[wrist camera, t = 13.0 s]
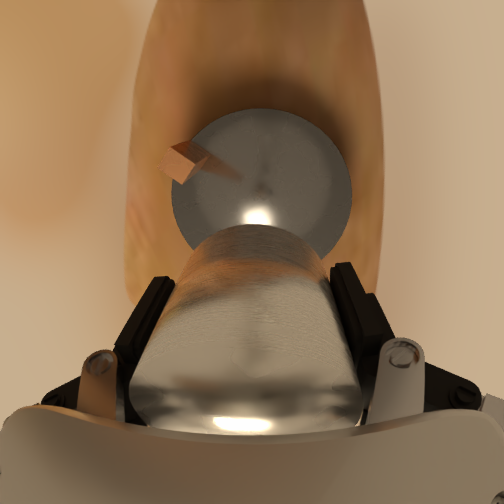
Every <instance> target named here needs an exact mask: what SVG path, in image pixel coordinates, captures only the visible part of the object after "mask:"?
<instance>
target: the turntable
mask: <svg viewBox="0 0 504 504" xmlns="http://www.w3.org/2000/svg"><path fill="white" fill-rule="evenodd" d="M157 168H158V169H160V170H161V171H163V172H164V173H165V174H167V175H168V176H170V177H171V178H173V181H172V192H171V193H172V206H173V212H174V216H175V219H176V222H177V225H178V227H179V229H180V231H181V233H182V235H183V237H184V238H185V240H186V241H187V243H188V244H189V245H190V247H191V248H192V249H193V250H195V249H196V248H197V247H198V246H199V245H200V244H201V243H202V242H203V241H204V240H205V239H207V238H208V237H209V236H211V235H213V234H215V233H216V232H218V231H221V230H223V229H226V228H228V227H232V226H237V225H243V224H264V225H271V226H275V227H278V228H282V229H284V230H287V231H289V232H291V233H293V234H295V235H296V236H298V237H300V238H301V239H303V240H304V241H305V242H306V243H308V244H309V245H310V246H311V247H312V248H313V249H314V251H315V252H316V253H317V255H318V256H319V258H320V259H321V260H322V259H323V258H324V257H325V256H326V255H327V254H328V253H329V252H330V251H331V250H332V248H333V247H334V246H335V245H336V243H337V242H338V240H339V239H340V237H341V236H342V234H343V231H344V229H345V227H346V225H347V222H348V219H349V216H350V210H351V205H352V188H351V180H350V176H349V172H348V169H347V166H346V164H345V161H344V159H343V157H342V155H341V153H340V152H339V150H338V148H337V147H336V146H335V144H334V143H333V142H332V141H331V139H330V138H329V137H328V136H327V135H326V134H325V133H324V132H323V131H322V130H320V129H319V128H318V127H316V126H315V125H313V124H312V123H311V122H309V121H307V120H305V119H303V118H301V117H299V116H297V115H294V114H291V113H288V112H285V111H280V110H275V109H264V108H258V109H246V110H242V111H237V112H233V113H231V114H228V115H225V116H223V117H221V118H219V119H217V120H215V121H213V122H212V123H210V124H209V125H207V126H206V127H205V128H203V129H202V130H201V131H200V132H199V133H198V134H197V135H196V136H195V137H194V138H193V139H192V140H189V141H186V142H183V143H180V144H177V145H174V146H171V147H169V149H168V150H167V152H166V154H165V155H164V157H163V159H162V160H161V162H160V164H159V165H158V167H157Z"/></svg>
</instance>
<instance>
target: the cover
mask: <svg viewBox="0 0 504 504" xmlns="http://www.w3.org/2000/svg"><path fill="white" fill-rule="evenodd" d="M129 397H130V401H131V403H132V406H133V408H134V409H135V411H136V412H137V414H138V415H139V416H140V418H141V419H142V420H143V421H144V422H145V423H146V424H147V425H148V426H149V427H152V428H159V429H166V430H174V431H182V432H192V433H204V434H220V435H282V434H298V433H310V432H320V431H328V430H336V429H343V428H349V427H354V426H355V425H356V424H357V423H358V421H359V419H360V418H361V415H362V412H363V406H364V401H363V397H362V393H361V389H360V385H359V381H358V377H357V373H356V369H355V366H354V362H353V358H352V355H351V351H350V348H349V344H348V341H347V337H346V334H345V331H344V327H343V324H342V321H341V317H340V314H339V311H338V308H337V304H336V301H335V298H334V295H333V292H332V289H331V286H330V283H329V280H328V277H327V274H326V271H325V268H324V265H323V263H322V261H321V259H320V258H319V256H318V255H317V253H316V252H315V251H314V249H313V248H312V247H311V246H310V245H309V244H308V243H306V242H305V241H304V240H303V239H301V238H300V237H298V236H296V235H295V234H293V233H291V232H289V231H287V230H284V229H282V228H278V227H275V226H271V225H264V224H243V225H237V226H232V227H228V228H226V229H223V230H221V231H218V232H216V233H215V234H213V235H211V236H209V237H208V238H207V239H205V240H204V241H203V242H202V243H201V244H200V245H199V246H198V247H197V248H196V249H195V250H194V252H193V253H192V254H191V256H190V258H189V260H188V262H187V263H186V265H185V267H184V269H183V271H182V273H181V275H180V277H179V279H178V281H177V283H176V285H175V287H174V289H173V291H172V293H171V295H170V297H169V299H168V301H167V303H166V305H165V307H164V309H163V311H162V313H161V315H160V317H159V320H158V322H157V324H156V326H155V328H154V330H153V332H152V334H151V337H150V339H149V341H148V343H147V345H146V347H145V350H144V352H143V354H142V356H141V358H140V361H139V363H138V365H137V367H136V370H135V372H134V374H133V376H132V379H131V381H130V384H129Z"/></svg>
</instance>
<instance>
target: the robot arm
mask: <svg viewBox="0 0 504 504" xmlns="http://www.w3.org/2000/svg"><path fill="white" fill-rule="evenodd" d="M330 286H331V289H332V292H333V295H334V298H335V301H336V304H337V308H338V311H339V314H340V317H341V321H342V324H343V327H344V331H345V334H346V337H347V341H348V344H349V348H350V351H351V355H352V358H353V362H354V366H355V369H356V373H357V377H358V381H359V385H360V389H361V393H362V397H363V401H364V406H363V412H362V415H361V418H360V420H359V424H358V426H356V427H349V428H343V429H336V430H328V431H320V432H310V433H298V434H282V435H220V434H204V433H192V432H182V431H174V430H166V429H159V428H152V427H149V426H148V425H147V424H146V423H145V422H144V421H143V420H142V419H141V418H140V416H139V415H138V414H137V412H136V411H135V409H134V408H133V406H132V403H131V401H130V397H129V384H130V381H131V379H132V376H133V374H134V372H135V370H136V367H137V365H138V363H139V361H140V358H141V356H142V354H143V352H144V350H145V347H146V345H147V343H148V341H149V339H150V337H151V334H152V332H153V330H154V328H155V326H156V324H157V322H158V320H159V317H160V315H161V313H162V311H163V309H164V307H165V305H166V303H167V301H168V299H169V297H170V295H171V293H172V291H173V289H174V287H175V282H174V280H173V279H170V278H169V277H168V276H161V277H154V278H153V280H152V281H151V283H150V284H149V286H148V288H147V289H146V291H145V293H144V294H143V296H142V297H141V299H140V301H139V302H138V304H137V306H136V307H135V309H134V311H133V312H132V314H131V316H130V318H129V319H128V321H127V323H126V324H125V326H124V328H123V330H122V332H121V333H120V335H119V337H118V339H117V340H116V342H115V344H114V345H115V347H114V349H113V351H111V350H99V351H96V352H94V353H92V354H91V355H90V356H89V357H87V359H86V360H85V362H84V364H83V367H82V372H81V376H79V377H77V378H75V379H74V380H71V381H70V382H68V383H65V384H64V385H61V386H60V387H58V388H56V389H54V390H52V391H50V392H48V393H47V394H46V395H45V396H44V398H43V399H42V401H41V405H40V404H39V403H37V404H34V405H32V406H26V407H22V408H20V409H18V410H16V411H15V412H14V413H13V414H12V415H11V416H9V417H8V418H7V419H6V420H5V421H4V424H3V428H2V430H1V431H0V504H504V400H503V399H500V398H497V397H495V396H492V395H490V394H486V395H485V396H482V395H481V392H480V390H479V388H478V387H477V386H476V385H475V384H474V383H473V382H471V381H469V380H467V379H464V378H462V377H459V376H457V375H455V374H452V373H450V372H448V371H445V370H443V369H441V368H438V367H436V366H434V365H431V364H429V363H427V362H425V358H424V357H425V356H424V352H423V349H422V348H421V346H420V345H419V344H417V343H416V342H415V341H413V340H410V339H407V338H395V336H394V333H393V331H392V329H391V327H390V325H389V323H388V321H387V319H386V317H385V314H384V312H383V310H382V308H381V306H380V304H379V302H378V300H377V298H376V296H375V295H374V294H373V293H367V294H366V293H365V291H364V289H363V287H362V285H361V283H360V280H359V278H358V276H357V274H356V272H355V270H354V268H353V266H352V264H351V263H350V262H343V263H336V264H335V267H331V269H330Z"/></svg>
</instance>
